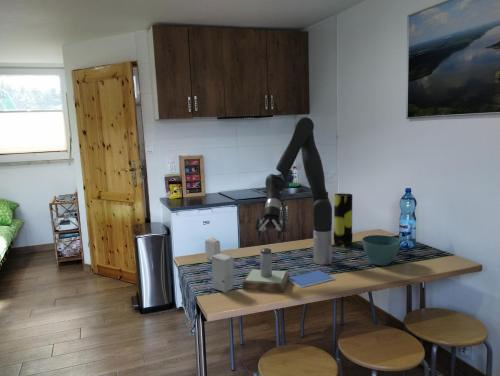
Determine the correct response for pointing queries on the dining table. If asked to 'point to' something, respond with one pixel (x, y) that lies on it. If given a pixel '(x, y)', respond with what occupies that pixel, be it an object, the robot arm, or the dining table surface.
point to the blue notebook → (310, 279)
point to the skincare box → (222, 272)
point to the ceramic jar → (266, 262)
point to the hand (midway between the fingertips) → (269, 239)
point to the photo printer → (211, 247)
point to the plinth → (266, 281)
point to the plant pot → (380, 248)
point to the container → (343, 219)
